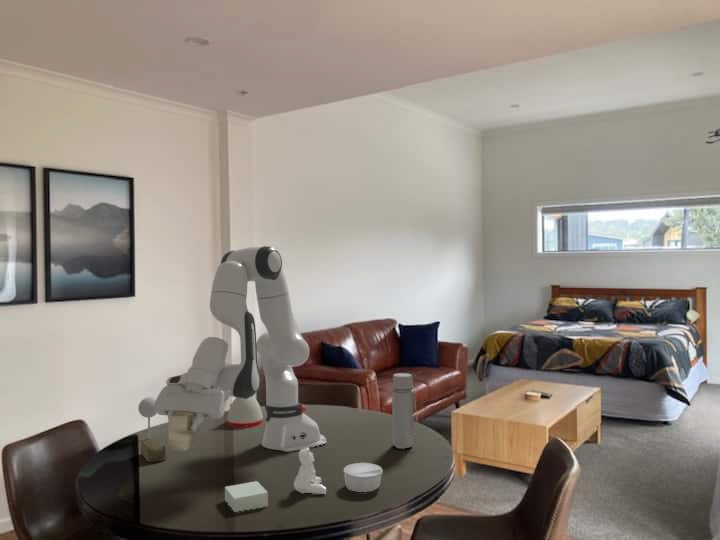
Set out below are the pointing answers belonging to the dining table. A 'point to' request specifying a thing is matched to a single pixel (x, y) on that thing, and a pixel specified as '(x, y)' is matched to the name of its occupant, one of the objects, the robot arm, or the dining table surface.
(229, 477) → the dining table surface
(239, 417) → the kitchen timer
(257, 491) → the sage block
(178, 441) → the birch block
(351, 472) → the ramekin
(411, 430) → the water bottle
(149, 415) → the lollipop
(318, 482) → the seated beast figurine
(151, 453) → the stone block
